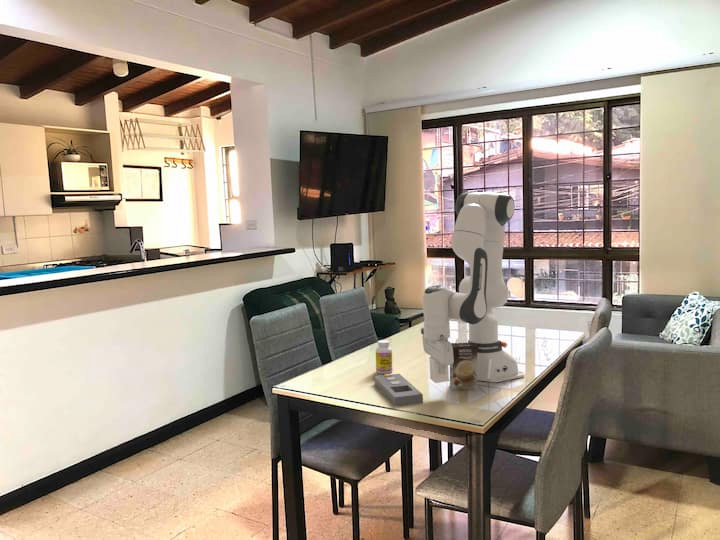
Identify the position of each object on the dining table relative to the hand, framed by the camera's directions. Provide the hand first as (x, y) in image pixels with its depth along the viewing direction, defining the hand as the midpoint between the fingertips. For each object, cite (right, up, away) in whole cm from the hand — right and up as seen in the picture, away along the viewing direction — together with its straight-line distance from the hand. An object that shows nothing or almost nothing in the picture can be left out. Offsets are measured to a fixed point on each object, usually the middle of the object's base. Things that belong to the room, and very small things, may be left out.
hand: (439, 371), depth 200 cm
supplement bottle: (-18, -7, +34) cm, 39 cm away
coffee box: (+11, -8, +11) cm, 17 cm away
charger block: (0, -3, 0) cm, 3 cm away
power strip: (-14, -9, +7) cm, 18 cm away
